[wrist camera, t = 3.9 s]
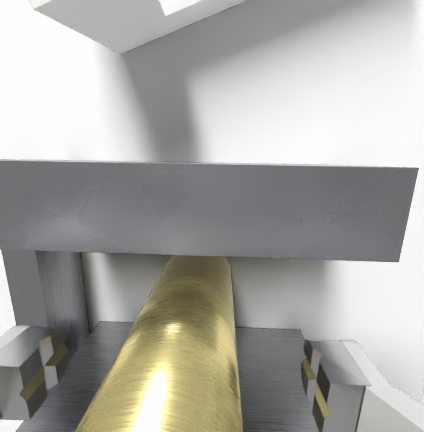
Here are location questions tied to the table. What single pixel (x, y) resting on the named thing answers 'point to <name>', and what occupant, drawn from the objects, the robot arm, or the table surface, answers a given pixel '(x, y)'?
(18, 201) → the clevis block
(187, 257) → the pin
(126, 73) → the table surface
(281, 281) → the table surface
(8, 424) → the table surface
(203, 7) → the bracket
